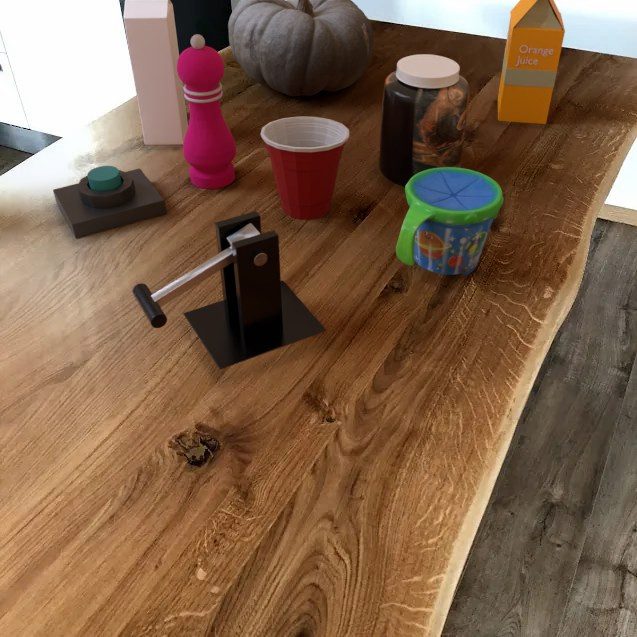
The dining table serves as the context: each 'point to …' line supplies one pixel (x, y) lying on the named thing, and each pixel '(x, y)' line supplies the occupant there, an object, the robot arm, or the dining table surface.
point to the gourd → (301, 43)
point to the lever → (186, 280)
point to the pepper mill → (206, 117)
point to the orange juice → (530, 61)
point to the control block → (109, 204)
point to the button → (104, 178)
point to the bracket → (251, 300)
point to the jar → (422, 117)
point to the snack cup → (448, 219)
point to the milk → (156, 70)
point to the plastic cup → (305, 162)
